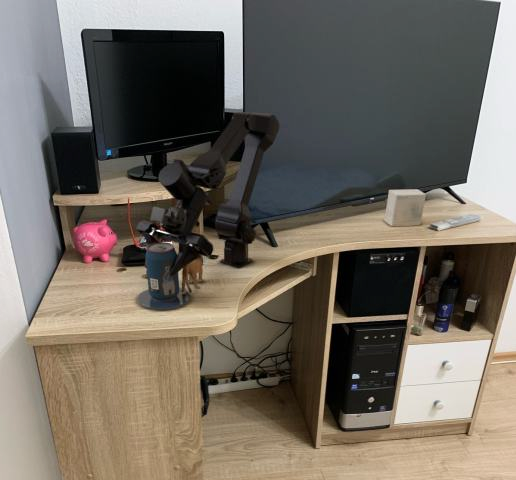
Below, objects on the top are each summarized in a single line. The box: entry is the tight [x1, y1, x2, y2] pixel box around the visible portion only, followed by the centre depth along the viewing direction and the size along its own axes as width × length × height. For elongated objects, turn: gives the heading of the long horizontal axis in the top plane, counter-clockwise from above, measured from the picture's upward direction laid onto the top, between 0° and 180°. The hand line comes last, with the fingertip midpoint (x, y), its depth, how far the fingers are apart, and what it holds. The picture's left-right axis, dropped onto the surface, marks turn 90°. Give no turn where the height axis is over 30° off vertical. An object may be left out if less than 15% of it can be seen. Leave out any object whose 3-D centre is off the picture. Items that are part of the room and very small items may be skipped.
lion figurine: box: [180, 255, 205, 294], centre depth 129 cm, size 15×5×9 cm, turn 4°
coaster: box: [137, 287, 191, 312], centre depth 125 cm, size 12×12×1 cm
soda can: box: [145, 241, 180, 302], centre depth 122 cm, size 7×7×12 cm
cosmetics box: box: [383, 188, 427, 227], centre depth 177 cm, size 10×6×10 cm, turn 101°
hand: (158, 271), depth 120 cm, fingers closed on soda can, 7 cm apart
